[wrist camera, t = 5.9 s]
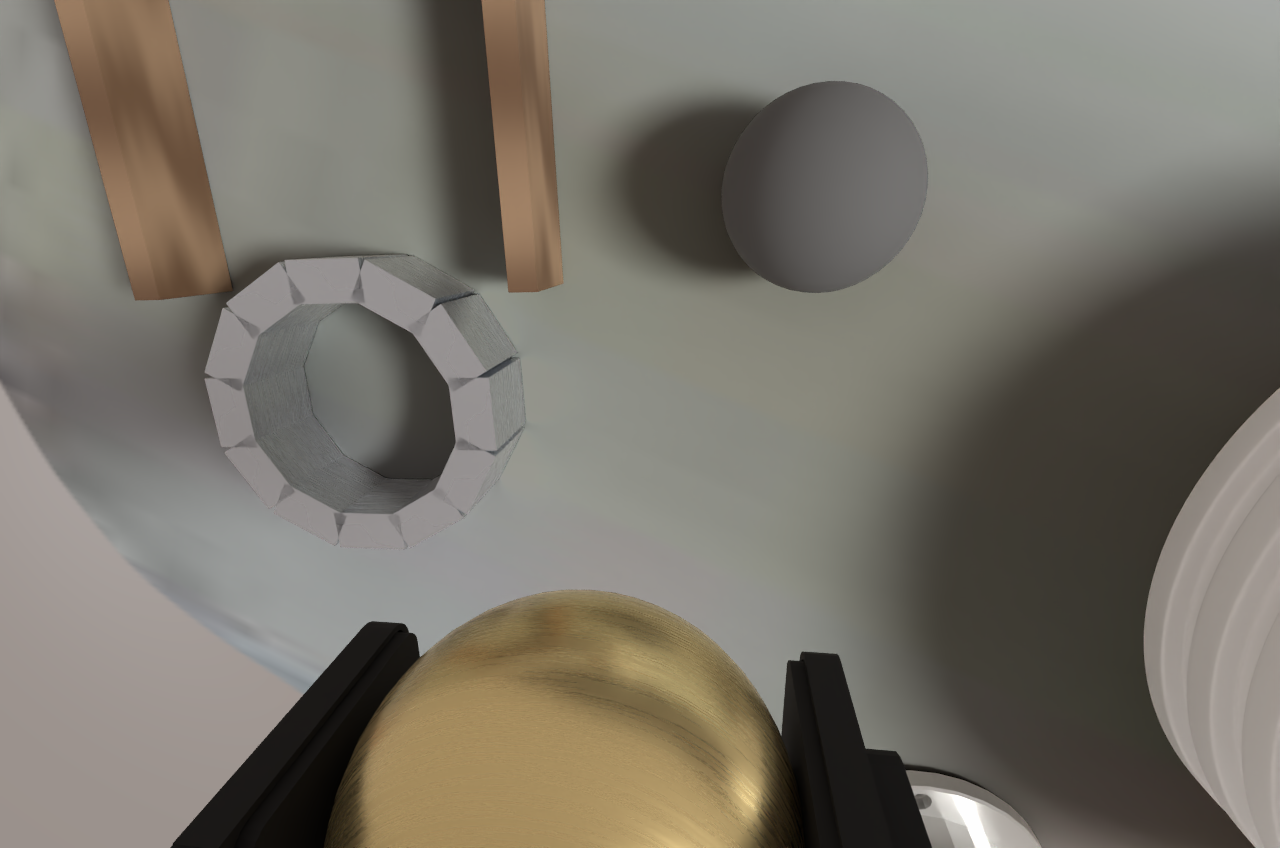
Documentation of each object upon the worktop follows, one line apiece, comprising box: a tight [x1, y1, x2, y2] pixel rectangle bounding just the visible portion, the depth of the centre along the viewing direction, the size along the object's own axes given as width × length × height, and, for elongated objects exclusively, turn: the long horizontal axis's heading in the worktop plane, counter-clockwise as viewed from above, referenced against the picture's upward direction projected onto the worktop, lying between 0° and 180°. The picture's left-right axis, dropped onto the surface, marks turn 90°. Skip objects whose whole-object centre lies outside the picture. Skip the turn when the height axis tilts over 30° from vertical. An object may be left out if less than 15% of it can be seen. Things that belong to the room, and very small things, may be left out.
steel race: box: [204, 254, 526, 550], centre depth 24 cm, size 11×11×4 cm
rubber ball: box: [721, 81, 928, 293], centre depth 19 cm, size 6×6×6 cm
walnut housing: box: [54, 0, 563, 300], centre depth 20 cm, size 14×15×6 cm
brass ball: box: [324, 590, 805, 848], centre depth 8 cm, size 6×6×6 cm
